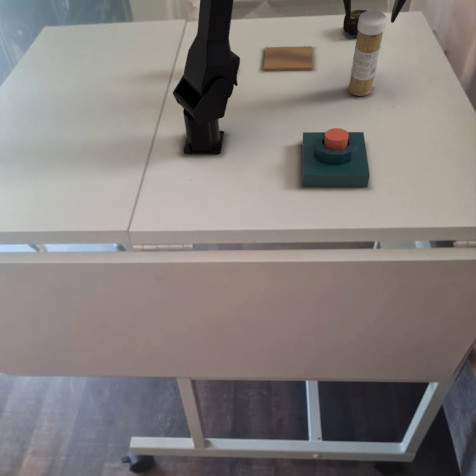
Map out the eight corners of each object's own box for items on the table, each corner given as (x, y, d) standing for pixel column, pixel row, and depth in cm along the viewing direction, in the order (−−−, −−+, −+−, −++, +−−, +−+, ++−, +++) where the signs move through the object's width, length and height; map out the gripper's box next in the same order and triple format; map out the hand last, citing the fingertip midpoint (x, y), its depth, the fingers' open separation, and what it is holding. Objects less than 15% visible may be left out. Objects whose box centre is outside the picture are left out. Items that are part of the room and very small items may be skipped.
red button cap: (347, 151, 74) (349, 140, 72) (324, 151, 74) (325, 140, 73) (346, 138, 76) (347, 127, 75) (323, 138, 76) (324, 128, 75)
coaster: (311, 70, 98) (312, 67, 98) (263, 70, 99) (263, 68, 99) (311, 48, 104) (311, 46, 104) (265, 49, 105) (265, 47, 105)
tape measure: (348, 41, 106) (351, 22, 103) (338, 29, 110) (340, 10, 107) (378, 36, 106) (381, 18, 103) (366, 24, 110) (369, 6, 108)
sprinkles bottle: (359, 79, 93) (372, 6, 82) (377, 89, 91) (392, 16, 80) (342, 89, 92) (353, 16, 80) (360, 100, 90) (373, 27, 79)
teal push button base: (367, 187, 74) (371, 164, 71) (302, 187, 75) (303, 164, 72) (361, 143, 81) (365, 121, 78) (302, 143, 82) (303, 122, 79)
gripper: (442, -112, 74) (418, 2, 87) (321, -105, 76) (314, 6, 88) (457, -93, 68) (428, 28, 80) (323, -86, 69) (315, 31, 82)
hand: (370, 22), depth 83 cm, fingers open, 7 cm apart
